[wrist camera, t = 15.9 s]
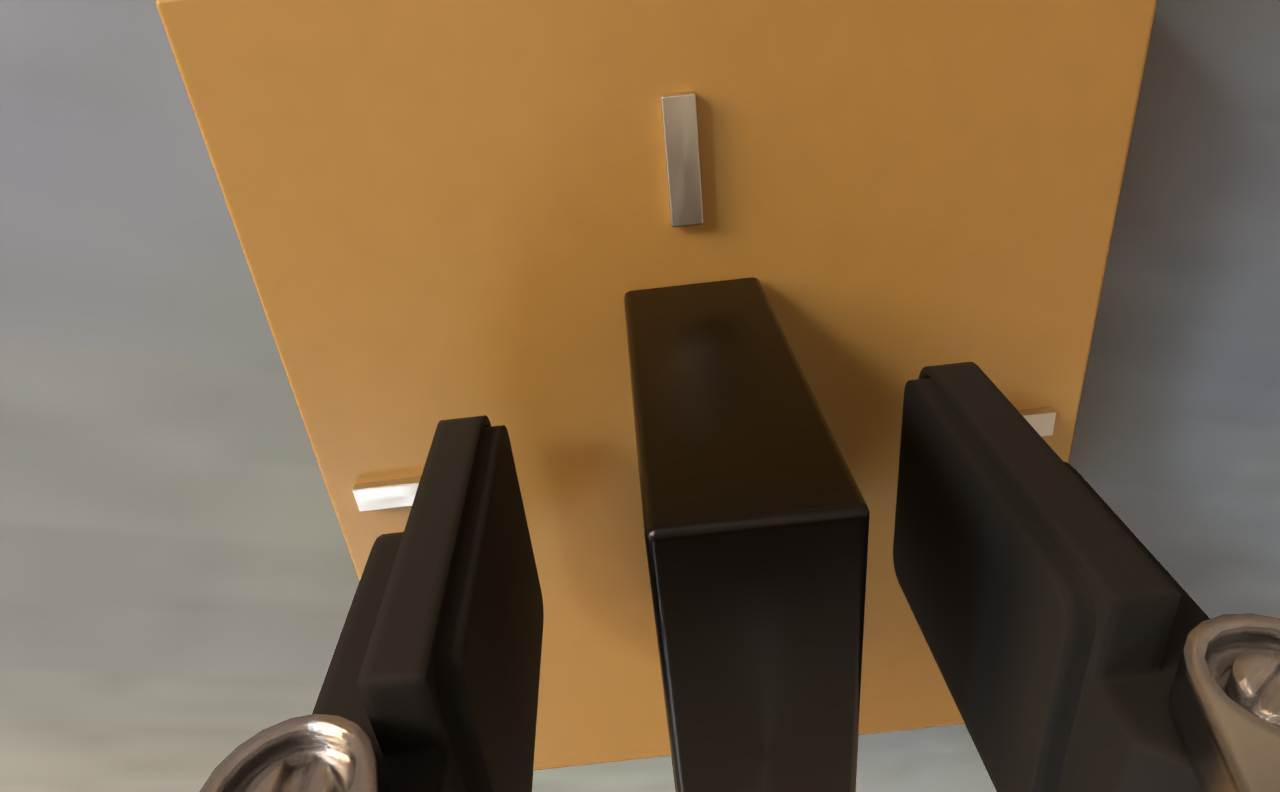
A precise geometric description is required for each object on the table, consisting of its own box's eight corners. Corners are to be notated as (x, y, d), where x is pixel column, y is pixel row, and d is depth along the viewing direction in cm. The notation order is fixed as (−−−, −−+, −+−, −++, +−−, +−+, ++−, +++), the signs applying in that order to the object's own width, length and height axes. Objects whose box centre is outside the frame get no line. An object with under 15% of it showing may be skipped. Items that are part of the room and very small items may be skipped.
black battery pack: (623, 288, 10) (645, 556, 5) (759, 273, 10) (884, 531, 5) (659, 605, 12) (694, 952, 8) (768, 592, 12) (859, 935, 8)
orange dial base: (260, -18, 11) (143, -1, 8) (1035, -106, 11) (1194, -119, 8) (455, 648, 16) (427, 792, 14) (952, 593, 16) (1024, 727, 14)
